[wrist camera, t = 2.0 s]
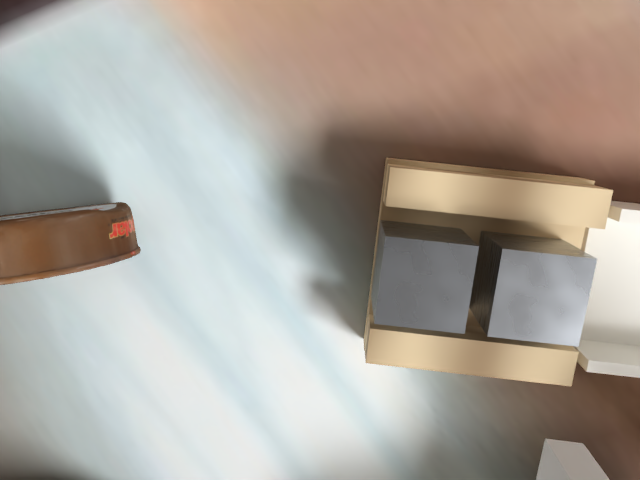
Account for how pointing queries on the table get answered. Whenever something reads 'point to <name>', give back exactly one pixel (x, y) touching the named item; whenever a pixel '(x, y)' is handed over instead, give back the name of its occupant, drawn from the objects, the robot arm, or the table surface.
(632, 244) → the tray
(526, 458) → the table surface
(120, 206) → the tin
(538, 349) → the slot rail
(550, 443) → the robot arm
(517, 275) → the chip
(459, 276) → the grey metallic cube
